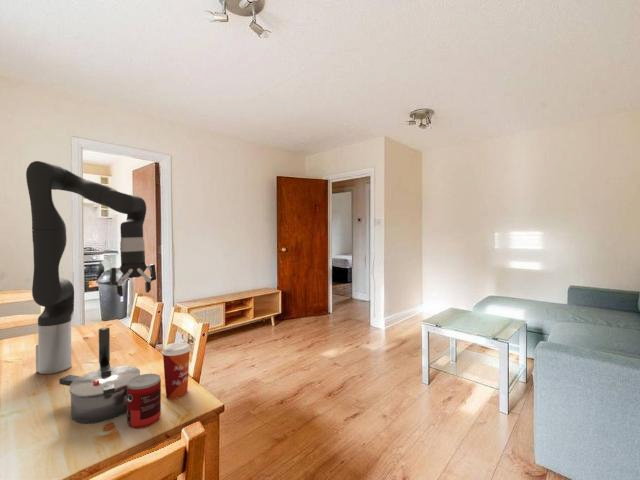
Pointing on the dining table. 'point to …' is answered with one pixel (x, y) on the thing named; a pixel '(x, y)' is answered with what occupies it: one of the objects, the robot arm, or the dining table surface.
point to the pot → (96, 405)
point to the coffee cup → (176, 369)
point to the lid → (103, 373)
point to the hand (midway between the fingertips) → (134, 294)
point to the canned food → (143, 400)
